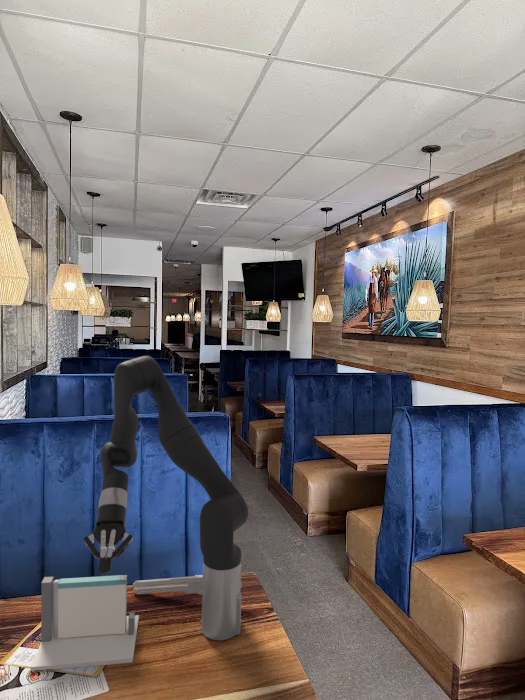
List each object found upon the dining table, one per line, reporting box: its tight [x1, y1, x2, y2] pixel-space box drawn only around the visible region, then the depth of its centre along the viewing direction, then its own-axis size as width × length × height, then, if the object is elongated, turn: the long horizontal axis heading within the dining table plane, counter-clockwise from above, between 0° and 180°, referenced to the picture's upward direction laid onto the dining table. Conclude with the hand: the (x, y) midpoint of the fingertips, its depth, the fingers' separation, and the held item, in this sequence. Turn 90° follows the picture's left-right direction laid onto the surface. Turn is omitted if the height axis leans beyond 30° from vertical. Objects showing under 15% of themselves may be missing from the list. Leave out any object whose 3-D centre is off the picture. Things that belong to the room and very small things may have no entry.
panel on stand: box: [29, 576, 140, 672], centre depth 108 cm, size 21×15×15 cm
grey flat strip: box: [132, 574, 243, 596], centre depth 127 cm, size 2×30×8 cm, turn 82°
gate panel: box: [53, 574, 128, 638], centre depth 110 cm, size 16×2×13 cm, turn 100°
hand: (104, 574), depth 119 cm, fingers closed
